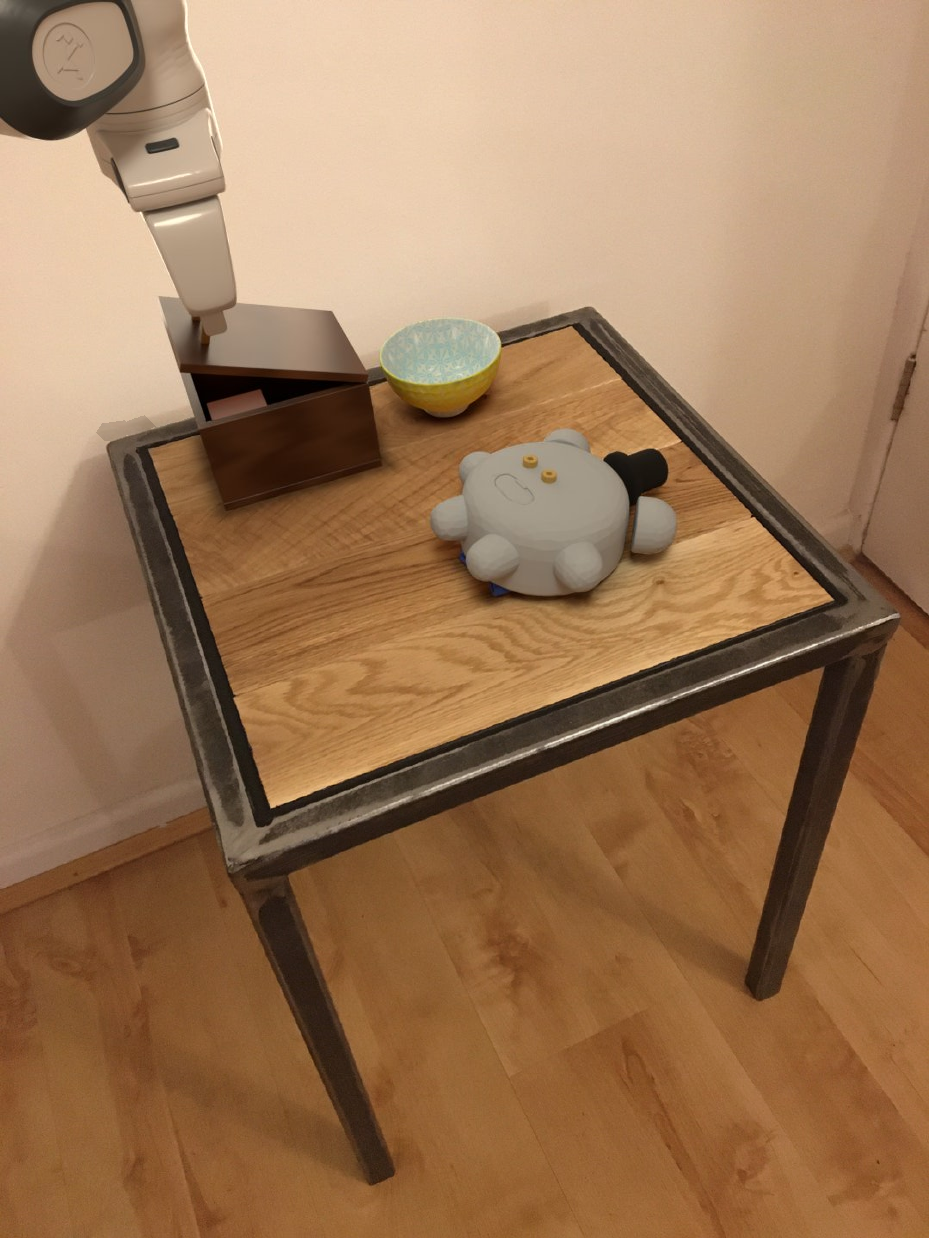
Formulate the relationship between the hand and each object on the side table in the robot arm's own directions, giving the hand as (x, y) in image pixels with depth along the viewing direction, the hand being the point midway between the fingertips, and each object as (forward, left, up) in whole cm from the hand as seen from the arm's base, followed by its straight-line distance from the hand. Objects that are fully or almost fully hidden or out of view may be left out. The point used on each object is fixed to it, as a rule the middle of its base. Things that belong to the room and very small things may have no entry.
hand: (208, 312), depth 78 cm
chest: (+2, +3, -15) cm, 16 cm away
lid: (+2, +3, -4) cm, 5 cm away
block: (0, 0, -15) cm, 15 cm away
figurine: (+30, +4, -16) cm, 34 cm away
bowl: (+11, +16, -16) cm, 25 cm away
